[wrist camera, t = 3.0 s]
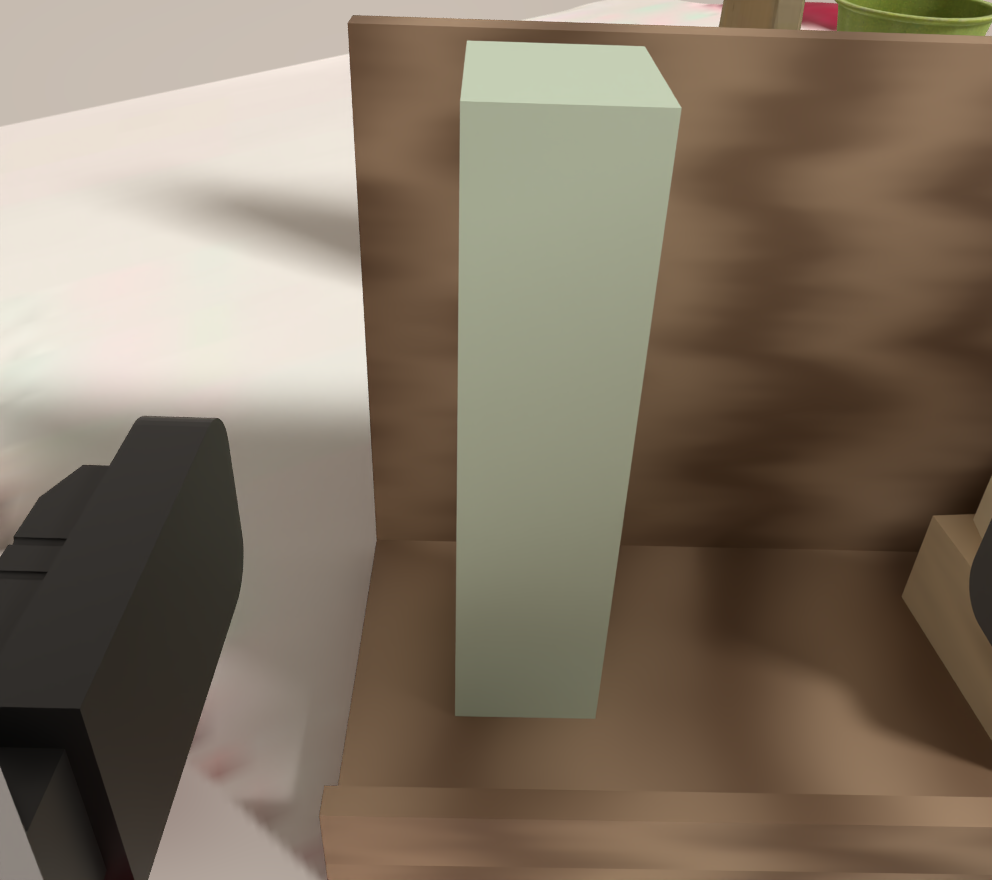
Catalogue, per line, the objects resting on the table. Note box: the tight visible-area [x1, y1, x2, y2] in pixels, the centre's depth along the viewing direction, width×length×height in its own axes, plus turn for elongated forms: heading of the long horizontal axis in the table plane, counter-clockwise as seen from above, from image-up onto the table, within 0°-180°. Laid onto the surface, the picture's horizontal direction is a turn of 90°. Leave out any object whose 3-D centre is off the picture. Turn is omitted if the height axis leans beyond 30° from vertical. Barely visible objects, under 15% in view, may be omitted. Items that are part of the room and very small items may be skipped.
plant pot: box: [835, 0, 992, 36], centre depth 72 cm, size 12×12×11 cm
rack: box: [319, 15, 992, 880], centre depth 24 cm, size 24×13×18 cm, turn 90°
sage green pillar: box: [455, 41, 682, 719], centre depth 24 cm, size 4×5×17 cm
